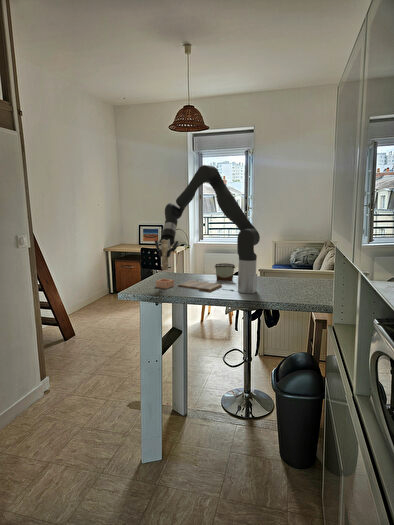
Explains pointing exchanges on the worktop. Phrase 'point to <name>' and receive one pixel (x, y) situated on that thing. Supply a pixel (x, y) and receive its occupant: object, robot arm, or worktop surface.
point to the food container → (224, 271)
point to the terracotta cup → (164, 283)
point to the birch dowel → (164, 254)
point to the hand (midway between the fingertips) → (163, 256)
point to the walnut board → (200, 285)
